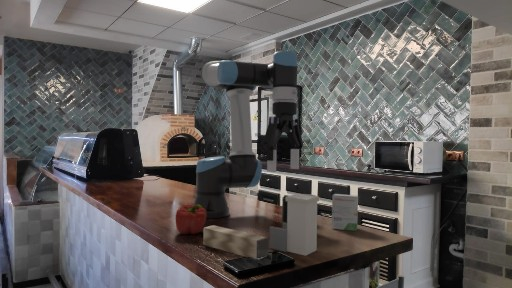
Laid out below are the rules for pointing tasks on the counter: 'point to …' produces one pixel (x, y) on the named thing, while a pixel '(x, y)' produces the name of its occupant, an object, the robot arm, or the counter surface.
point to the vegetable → (190, 219)
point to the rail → (235, 241)
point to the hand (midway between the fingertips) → (283, 170)
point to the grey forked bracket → (297, 226)
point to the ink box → (344, 212)
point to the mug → (284, 209)
